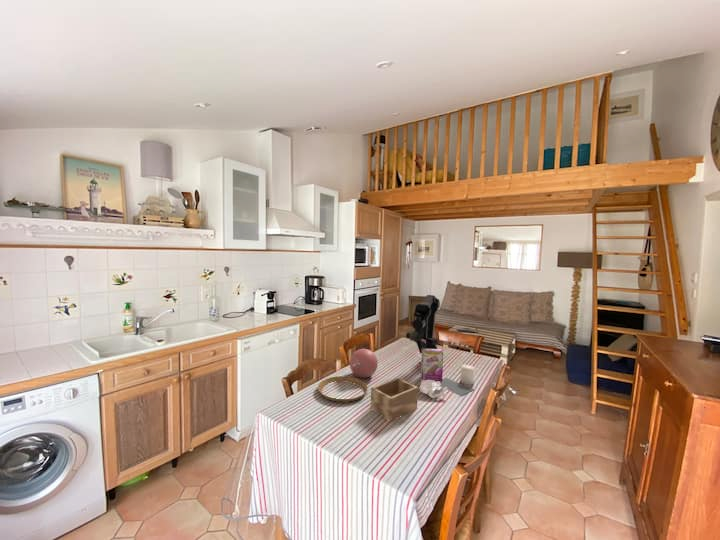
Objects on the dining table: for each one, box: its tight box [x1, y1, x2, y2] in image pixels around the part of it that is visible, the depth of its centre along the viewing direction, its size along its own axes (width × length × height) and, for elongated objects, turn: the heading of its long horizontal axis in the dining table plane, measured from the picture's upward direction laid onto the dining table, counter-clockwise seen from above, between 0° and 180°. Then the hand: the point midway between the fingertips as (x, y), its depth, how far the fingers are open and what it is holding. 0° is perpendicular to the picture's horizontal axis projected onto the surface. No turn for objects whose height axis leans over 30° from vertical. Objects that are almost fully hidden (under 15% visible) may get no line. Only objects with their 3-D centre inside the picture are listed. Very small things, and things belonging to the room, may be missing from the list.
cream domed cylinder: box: [459, 364, 476, 385], centre depth 162 cm, size 7×7×8 cm
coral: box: [418, 379, 448, 402], centre depth 145 cm, size 12×7×12 cm
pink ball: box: [349, 348, 379, 379], centre depth 162 cm, size 15×20×15 cm
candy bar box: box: [420, 348, 444, 382], centre depth 163 cm, size 11×5×16 cm, turn 84°
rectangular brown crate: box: [370, 377, 419, 422], centre depth 131 cm, size 12×17×10 cm
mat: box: [436, 377, 475, 397], centre depth 154 cm, size 17×16×1 cm
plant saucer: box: [317, 375, 368, 403], centre depth 146 cm, size 24×24×3 cm
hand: (421, 353), depth 169 cm, fingers closed
